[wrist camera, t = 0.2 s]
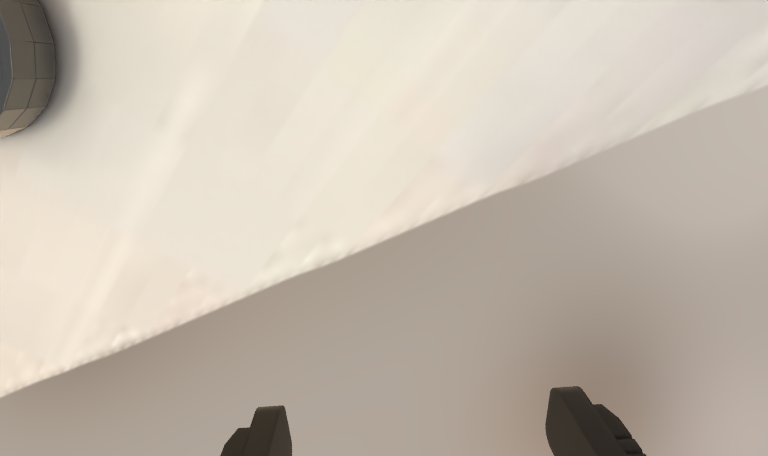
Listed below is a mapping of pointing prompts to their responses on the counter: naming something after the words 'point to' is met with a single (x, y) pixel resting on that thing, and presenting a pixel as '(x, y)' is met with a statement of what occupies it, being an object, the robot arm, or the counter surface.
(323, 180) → the counter surface
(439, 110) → the counter surface
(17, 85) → the bowl
